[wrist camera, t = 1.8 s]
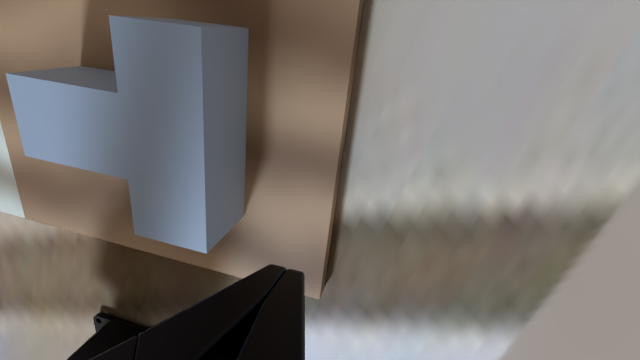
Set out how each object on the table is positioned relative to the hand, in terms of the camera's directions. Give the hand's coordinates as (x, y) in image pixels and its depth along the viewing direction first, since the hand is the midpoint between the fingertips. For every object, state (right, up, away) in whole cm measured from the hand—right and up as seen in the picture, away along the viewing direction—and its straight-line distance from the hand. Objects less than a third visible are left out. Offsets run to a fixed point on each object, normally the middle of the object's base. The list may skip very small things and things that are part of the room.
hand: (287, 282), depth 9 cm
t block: (-8, +6, +11) cm, 15 cm away
